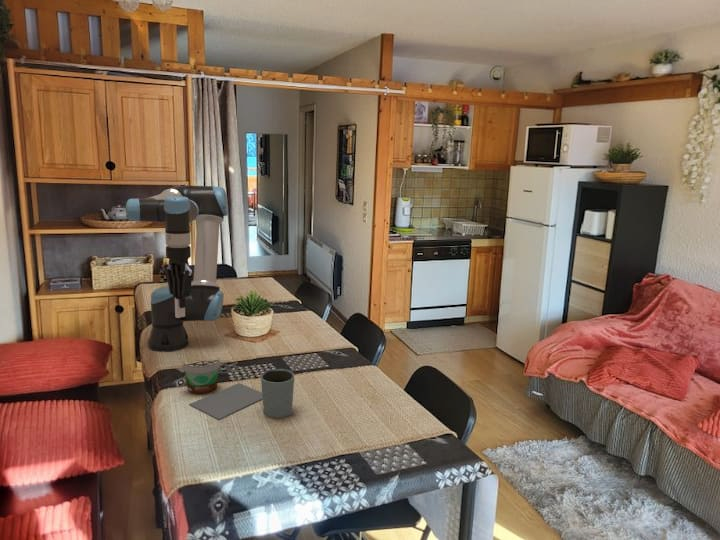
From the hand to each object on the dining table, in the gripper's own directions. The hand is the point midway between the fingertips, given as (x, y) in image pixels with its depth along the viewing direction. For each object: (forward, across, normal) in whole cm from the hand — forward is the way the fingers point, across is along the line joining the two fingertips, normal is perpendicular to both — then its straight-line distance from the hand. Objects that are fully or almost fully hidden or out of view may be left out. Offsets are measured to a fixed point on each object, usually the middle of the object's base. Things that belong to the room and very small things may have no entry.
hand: (180, 316), depth 175 cm
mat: (+23, +22, +2) cm, 32 cm away
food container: (+24, +11, +1) cm, 26 cm away
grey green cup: (+24, +38, +8) cm, 45 cm away
